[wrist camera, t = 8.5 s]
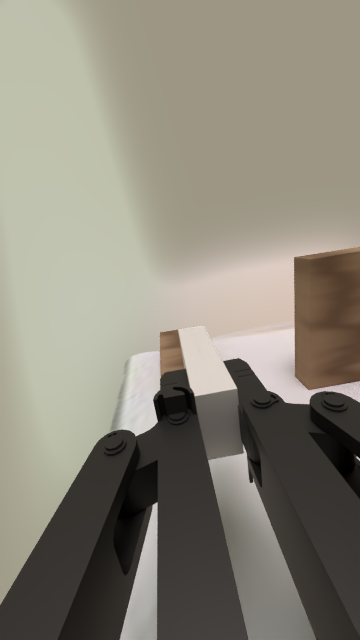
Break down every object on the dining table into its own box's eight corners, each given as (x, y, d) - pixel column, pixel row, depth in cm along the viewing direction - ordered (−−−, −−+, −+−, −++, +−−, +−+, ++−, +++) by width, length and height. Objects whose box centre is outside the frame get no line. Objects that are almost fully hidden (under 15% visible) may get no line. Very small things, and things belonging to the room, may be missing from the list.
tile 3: (223, 387, 26) (203, 343, 37) (220, 364, 25) (201, 325, 36) (165, 397, 26) (163, 349, 37) (160, 374, 25) (160, 332, 36)
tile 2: (350, 365, 26) (357, 246, 23) (370, 378, 24) (383, 247, 20) (294, 375, 26) (293, 257, 23) (308, 389, 24) (310, 259, 20)
